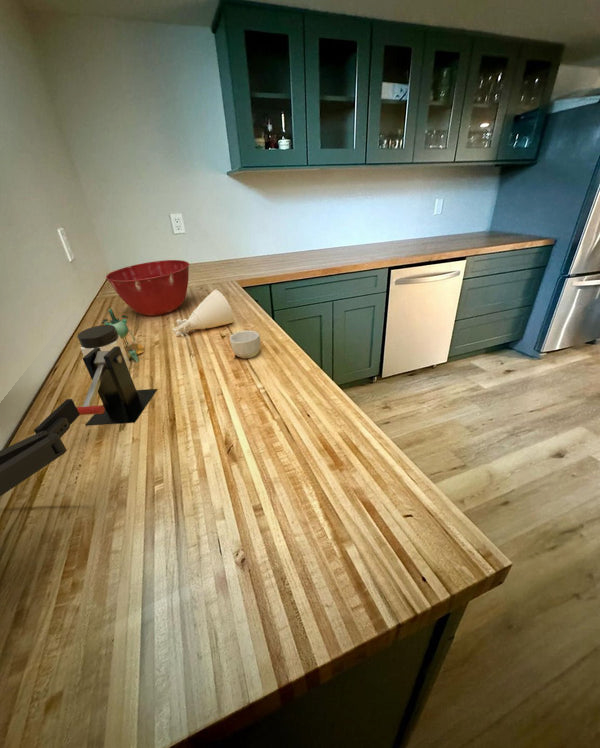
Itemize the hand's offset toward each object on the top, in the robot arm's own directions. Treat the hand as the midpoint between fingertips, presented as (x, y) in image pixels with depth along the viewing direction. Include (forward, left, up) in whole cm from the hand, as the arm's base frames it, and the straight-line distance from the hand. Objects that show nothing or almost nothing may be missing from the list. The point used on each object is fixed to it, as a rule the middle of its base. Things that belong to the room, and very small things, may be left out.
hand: (26, 409), depth 47 cm
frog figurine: (-19, +43, -15) cm, 50 cm away
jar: (-16, +33, -15) cm, 40 cm away
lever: (-3, +15, -6) cm, 17 cm away
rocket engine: (-5, +63, -15) cm, 65 cm away
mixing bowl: (-31, +81, -15) cm, 89 cm away
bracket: (-3, +19, -15) cm, 25 cm away
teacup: (+15, +46, -15) cm, 51 cm away
